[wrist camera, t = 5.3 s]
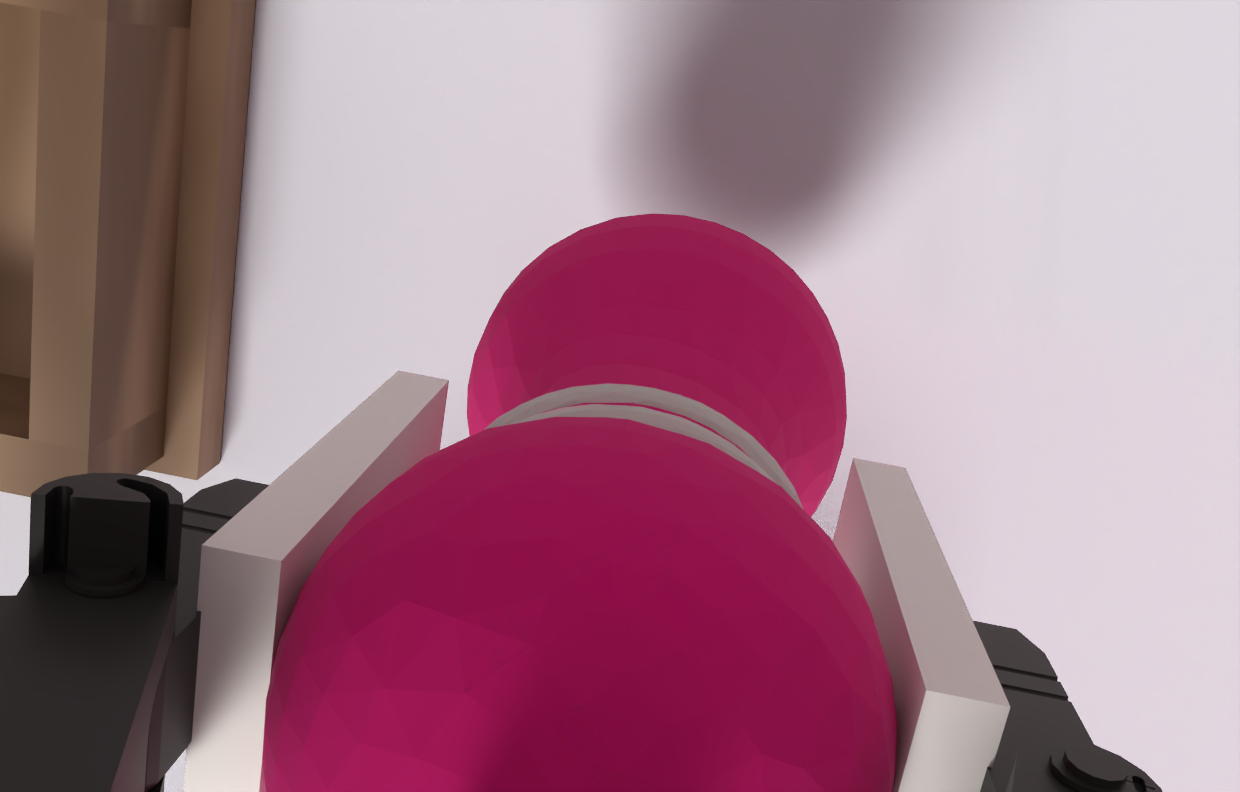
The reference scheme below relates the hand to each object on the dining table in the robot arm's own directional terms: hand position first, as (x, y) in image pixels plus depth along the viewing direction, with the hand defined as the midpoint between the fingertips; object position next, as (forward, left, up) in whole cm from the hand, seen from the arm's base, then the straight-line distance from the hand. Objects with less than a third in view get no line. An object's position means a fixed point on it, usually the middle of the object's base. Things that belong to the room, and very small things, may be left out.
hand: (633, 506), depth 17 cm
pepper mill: (0, 0, -10) cm, 10 cm away
